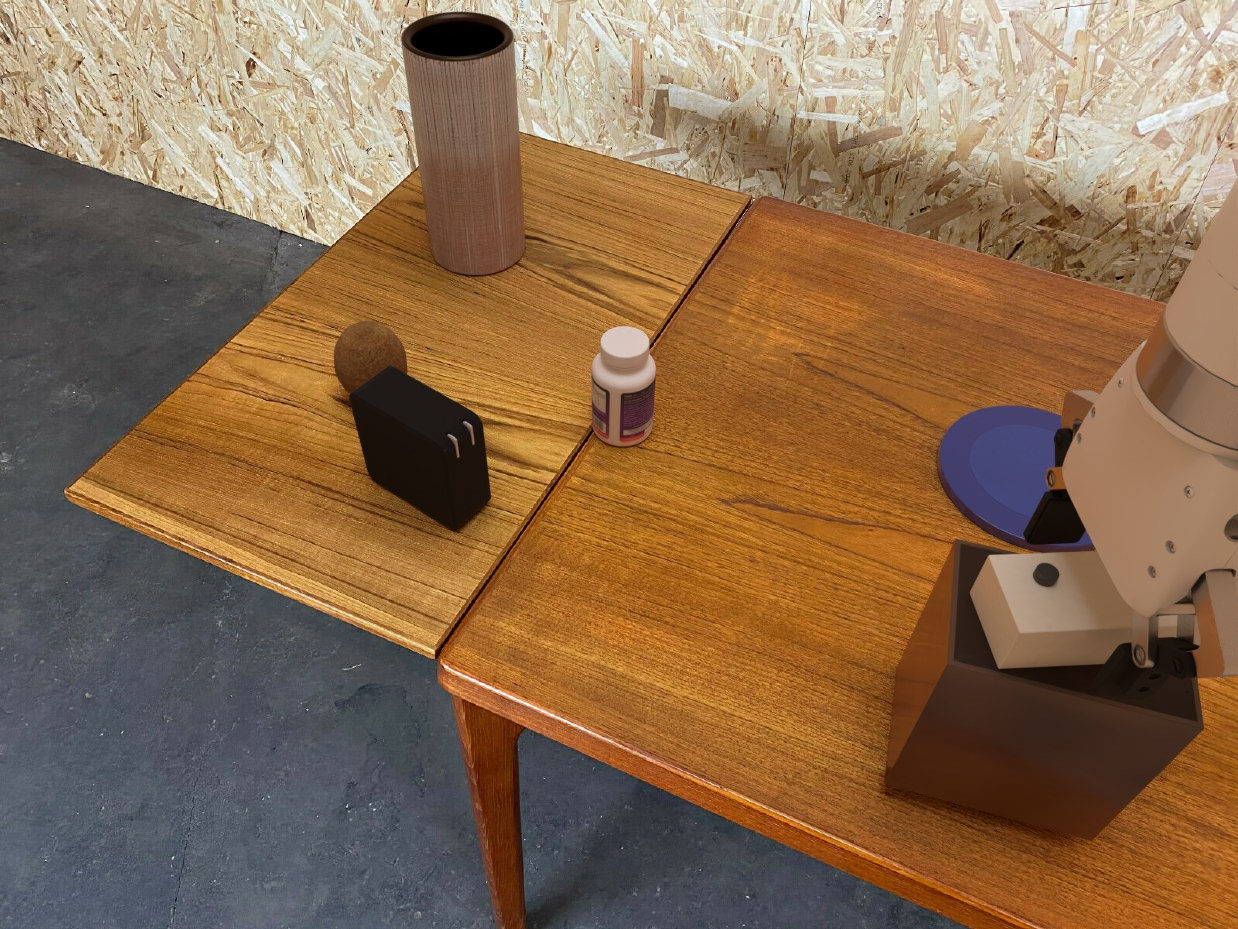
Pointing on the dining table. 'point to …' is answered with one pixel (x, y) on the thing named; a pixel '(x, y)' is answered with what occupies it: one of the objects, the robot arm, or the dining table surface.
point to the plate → (1002, 470)
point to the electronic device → (422, 446)
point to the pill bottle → (623, 387)
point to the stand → (1022, 722)
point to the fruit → (366, 353)
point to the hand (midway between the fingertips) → (1082, 610)
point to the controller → (1053, 610)
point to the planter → (467, 138)
